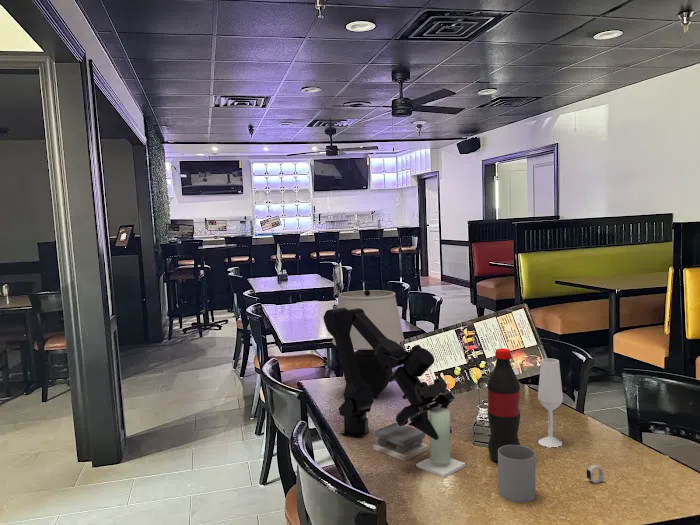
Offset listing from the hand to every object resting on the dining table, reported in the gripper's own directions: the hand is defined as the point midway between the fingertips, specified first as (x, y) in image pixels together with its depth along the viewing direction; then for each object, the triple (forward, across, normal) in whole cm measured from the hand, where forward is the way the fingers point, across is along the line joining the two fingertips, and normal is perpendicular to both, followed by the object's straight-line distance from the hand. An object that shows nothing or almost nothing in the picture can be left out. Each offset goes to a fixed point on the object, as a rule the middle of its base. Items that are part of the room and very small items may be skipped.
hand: (444, 436), depth 139 cm
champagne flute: (+14, +34, -2) cm, 37 cm away
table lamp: (-34, +29, +47) cm, 65 cm away
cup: (+20, +1, -8) cm, 22 cm away
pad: (+5, 0, +7) cm, 9 cm away
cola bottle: (+12, +15, 0) cm, 19 cm away
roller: (+4, 0, +6) cm, 7 cm away
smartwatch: (+28, +19, -16) cm, 37 cm away
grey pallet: (-6, +1, +18) cm, 18 cm away
